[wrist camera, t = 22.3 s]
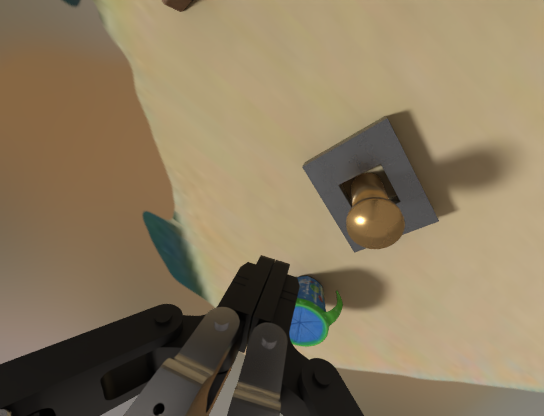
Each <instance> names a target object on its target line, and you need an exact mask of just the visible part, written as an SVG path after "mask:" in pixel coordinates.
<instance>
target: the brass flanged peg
mask: <svg viewBox="0 0 544 416" xmlns="http://www.w3.org/2000/svg"><path fill="white" fill-rule="evenodd" d="M351 189H352V207H351V209H350V210H349V212H348V215H347V219H346V227H347V232H348V234H349V236H350V238H351V239H352V240H353V241H354V242H355V243H357V244H358V245H360V246H362V247H365V248H369V249H381V248H385V247H388V246H390V245H392V244H394V243H395V242H396V241H398V240H399V238H400V237H401V236H402V234H403V232H404V228H405V221H404V217H403V215H402V213H401V210H400V209H399V207H398V206H397V205H396V204H395V203H394V202H392V201H390V200H389V199H388V196H387V193H386V191H385V188H384V186H383V183H382V181H381V179H380V178H379V177H378V176H377V175H375V174H373V173H363V174H360V175H358V176H357V177H356V178H355V179H354V180H353V182H352V186H351Z"/></svg>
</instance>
